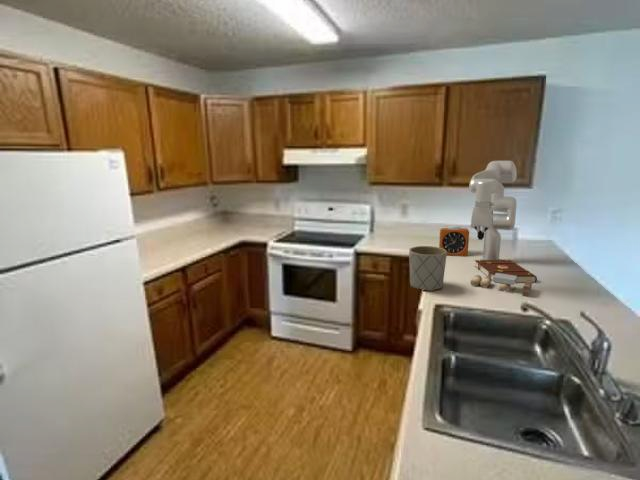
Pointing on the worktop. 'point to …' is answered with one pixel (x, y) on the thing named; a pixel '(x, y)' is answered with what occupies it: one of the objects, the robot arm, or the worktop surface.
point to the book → (504, 269)
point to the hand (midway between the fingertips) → (480, 239)
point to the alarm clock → (454, 240)
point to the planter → (427, 267)
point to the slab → (505, 278)
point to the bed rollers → (483, 282)
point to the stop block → (527, 288)
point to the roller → (504, 287)
